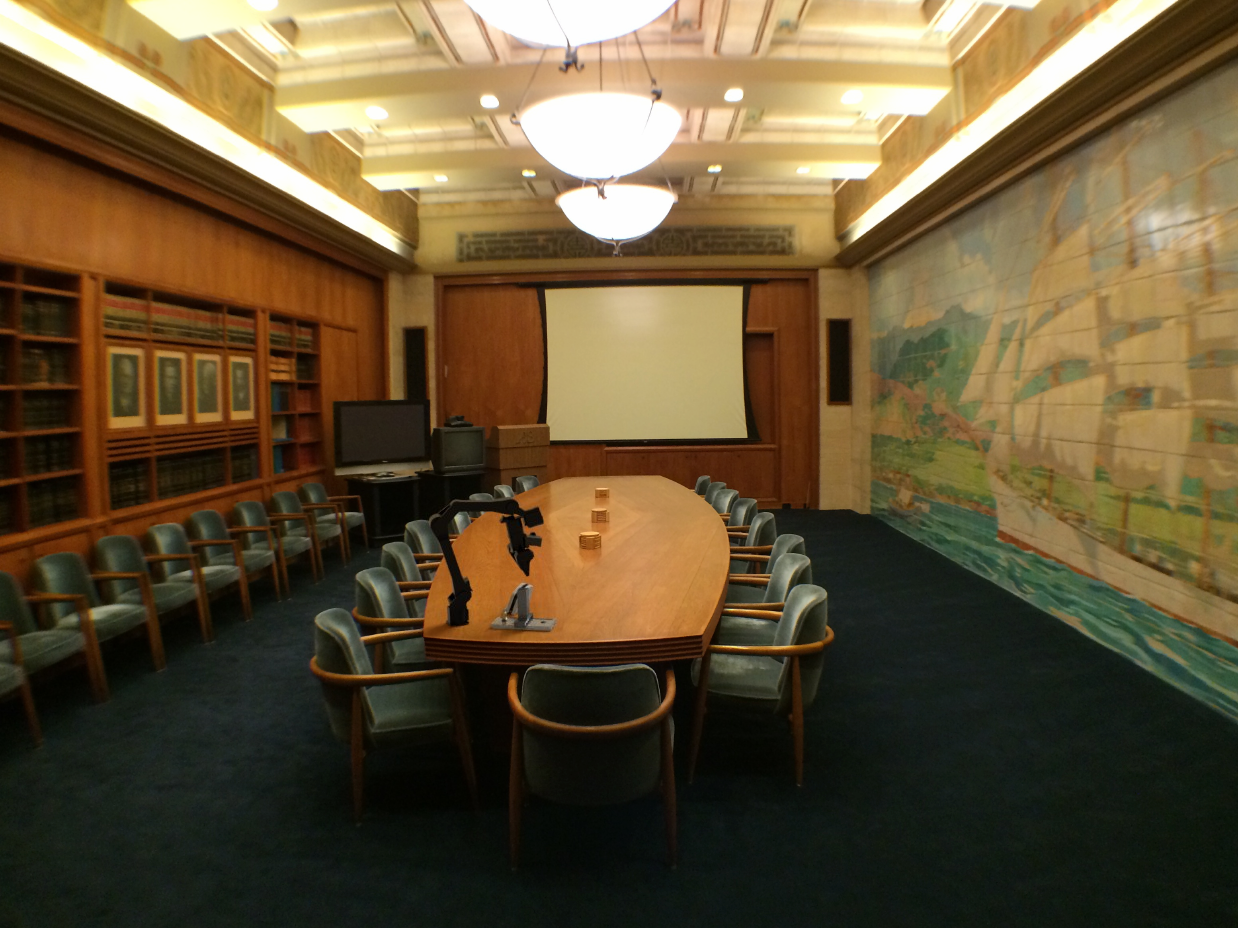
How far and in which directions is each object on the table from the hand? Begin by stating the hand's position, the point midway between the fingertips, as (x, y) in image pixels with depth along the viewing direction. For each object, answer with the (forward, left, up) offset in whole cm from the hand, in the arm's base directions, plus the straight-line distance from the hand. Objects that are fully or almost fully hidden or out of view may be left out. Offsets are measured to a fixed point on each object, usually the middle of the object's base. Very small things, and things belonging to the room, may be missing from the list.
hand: (525, 572), depth 249 cm
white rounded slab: (+1, +9, -16) cm, 19 cm away
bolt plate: (-5, -10, -16) cm, 19 cm away
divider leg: (-5, -10, -15) cm, 19 cm away
